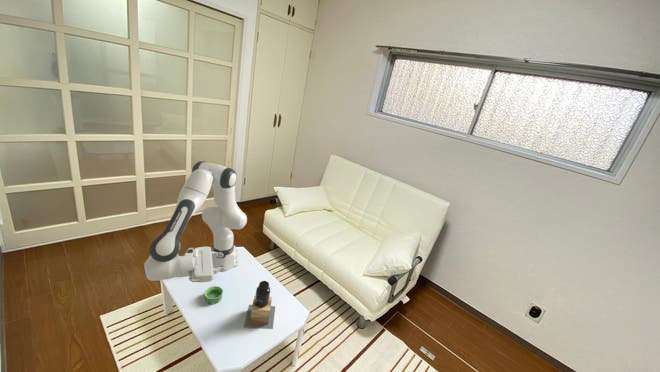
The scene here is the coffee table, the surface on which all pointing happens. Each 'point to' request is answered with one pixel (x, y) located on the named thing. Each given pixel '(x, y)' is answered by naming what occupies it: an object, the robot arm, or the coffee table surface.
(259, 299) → the supplement bottle
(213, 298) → the ramekin
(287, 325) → the coffee table surface
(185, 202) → the robot arm
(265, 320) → the tower base
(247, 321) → the mat
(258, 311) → the tower top
